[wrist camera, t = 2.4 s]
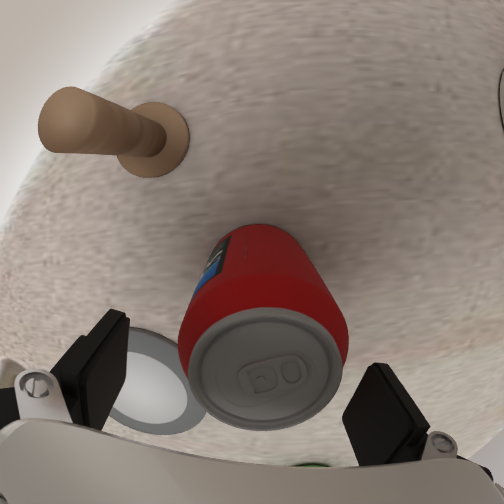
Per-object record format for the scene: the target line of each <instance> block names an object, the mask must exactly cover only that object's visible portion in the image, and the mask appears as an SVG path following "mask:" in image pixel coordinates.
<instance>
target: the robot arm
mask: <svg viewBox="0 0 504 504" xmlns="http://www.w3.org/2000/svg"><path fill="white" fill-rule="evenodd" d="M500 106H501V113H502V119H503V124H504V72H503V74H502V78H501V83H500ZM129 325H130V319H129V318H127V317H126V314H125V313H124V312H121V311H117V310H114V309H110V310H109V311H108V312H107V313H106V314H105V315H104V316H103V317H102V319H101V320H100V321H99V322H98V323H97V324H96V326H95V327H94V328H93V329H92V330H91V331H90V333H89V334H88V335H87V336H84V335H81V336H80V337H79V338H78V339H77V340H76V341H75V342H74V344H73V345H72V346H71V347H70V348H69V349H68V351H67V352H66V353H65V354H64V355H63V356H62V358H61V359H60V360H59V361H58V362H57V363H56V365H55V366H54V367H53V368H52V369H51V371H50V372H48V371H45V370H42V369H28V370H25V371H23V372H21V373H20V374H19V375H18V376H17V377H16V379H15V387H12V388H3V389H0V504H504V488H503V487H501V486H500V485H499V484H497V483H495V484H494V483H493V477H492V474H491V472H490V470H489V469H487V468H485V467H482V466H480V465H478V464H476V463H474V462H471V461H469V460H467V459H465V458H463V457H461V456H458V455H457V450H458V448H457V444H456V442H455V440H454V439H453V438H452V437H451V436H449V435H448V434H446V433H444V432H440V431H434V432H431V433H430V434H429V435H428V434H427V433H426V432H427V431H428V429H429V428H430V427H431V426H430V425H429V423H428V422H427V420H426V419H425V417H424V416H423V414H422V413H421V411H420V410H419V408H418V407H417V405H416V404H415V403H414V401H413V400H412V398H411V397H410V395H409V394H408V392H407V391H406V389H405V388H404V386H403V385H402V384H401V382H400V381H399V379H398V378H397V376H396V375H395V374H394V372H393V371H392V369H391V368H390V366H389V365H388V364H385V363H373V364H372V365H371V366H369V367H368V368H367V370H366V372H365V374H364V376H363V378H362V380H361V382H360V383H359V385H358V387H357V389H356V391H355V393H354V395H353V397H352V398H351V400H350V402H349V404H348V406H347V407H346V409H345V411H344V413H343V416H342V421H343V424H344V426H345V429H346V432H347V434H348V437H349V440H350V442H351V445H352V448H353V450H354V453H355V456H356V458H357V461H358V464H359V466H355V467H293V466H276V465H264V464H253V463H244V462H236V461H229V460H222V459H215V458H209V457H204V456H198V455H193V454H188V453H183V452H179V451H174V450H170V449H165V448H161V447H157V446H153V445H149V444H145V443H142V442H138V441H134V440H131V439H127V438H124V437H120V436H117V435H113V434H110V433H107V432H103V431H101V430H102V428H103V426H104V424H105V422H106V420H107V418H108V416H109V413H110V411H111V409H112V407H113V405H114V403H115V401H116V399H117V397H118V395H119V393H120V391H121V389H122V387H123V385H124V382H125V379H126V370H127V352H128V337H129ZM6 501H7V502H8V503H7V502H6Z"/></svg>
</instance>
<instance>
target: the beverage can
mask: <svg viewBox="0 0 504 504" xmlns="http://www.w3.org/2000/svg"><path fill="white" fill-rule="evenodd" d="M348 345H349V336H348V329H347V325H346V322H345V319H344V317H343V315H342V313H341V311H340V309H339V307H338V305H337V304H336V302H335V300H334V299H333V297H332V295H331V293H330V292H329V290H328V288H327V287H326V285H325V283H324V282H323V280H322V278H321V277H320V275H319V274H318V272H317V270H316V269H315V267H314V266H313V264H312V263H311V261H310V260H309V258H308V257H307V255H306V254H305V252H304V251H303V249H302V248H301V246H300V245H299V244H298V242H297V241H296V240H295V239H294V238H293V237H292V236H290V235H289V234H288V233H286V232H285V231H283V230H281V229H279V228H276V227H273V226H269V225H262V224H255V225H247V226H243V227H240V228H238V229H236V230H234V231H232V232H230V233H229V234H227V235H226V236H225V237H224V238H223V239H222V240H221V241H220V242H219V243H218V244H217V246H216V247H215V249H214V250H213V252H212V254H211V256H210V258H209V260H208V262H207V265H206V267H205V269H204V271H203V273H202V276H201V278H200V280H199V282H198V285H197V287H196V289H195V292H194V294H193V297H192V299H191V301H190V304H189V306H188V309H187V311H186V314H185V317H184V319H183V322H182V324H181V327H180V331H179V336H178V354H179V359H180V363H181V366H182V369H183V371H184V373H185V375H186V377H187V379H188V380H189V385H190V388H191V391H192V393H193V395H194V397H195V399H196V400H197V402H198V403H199V404H200V406H201V407H202V408H203V409H204V410H205V411H207V412H208V413H209V414H210V415H211V416H213V417H214V418H216V419H218V420H219V421H221V422H223V423H226V424H228V425H231V426H233V427H237V428H241V429H245V430H253V431H272V430H280V429H284V428H288V427H292V426H295V425H297V424H300V423H302V422H304V421H306V420H308V419H310V418H311V417H313V416H314V415H316V414H317V413H319V412H320V411H321V410H322V409H323V408H324V407H325V406H326V405H327V404H328V403H329V402H330V401H331V399H332V398H333V397H334V395H335V393H336V392H337V390H338V387H339V385H340V382H341V378H342V371H343V366H344V364H345V361H346V358H347V353H348Z"/></svg>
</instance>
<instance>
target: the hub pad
mask: <svg viewBox="0 0 504 504" xmlns="http://www.w3.org/2000/svg"><path fill="white" fill-rule="evenodd" d="M205 414H206V411H205V410H204V409H203V408H202V407H201V406H200V404H199V403H198V402H197V400H196V399H195V397H194V395H193V393H192V391H191V388H190V385H189V380H188V379H187V377H186V375H185V373H184V371H183V369H182V366H181V363H180V359H179V354H178V345H177V344H176V343H174V342H172V341H171V340H169V339H167V338H165V337H163V336H161V335H159V334H157V333H154V332H151V331H148V330H144V329H139V328H132V327H129V337H128V352H127V370H126V379H125V382H124V385H123V387H122V389H121V391H120V393H119V395H118V397H117V399H116V401H115V403H114V405H113V407H112V409H111V411H110V413H109V416H110V417H111V418H113V419H114V420H116V421H118V422H119V423H121V424H123V425H125V426H127V427H129V428H132V429H134V430H137V431H140V432H144V433H149V434H156V435H171V434H177V433H182V432H184V431H187V430H189V429H191V428H193V427H194V426H196V425H197V424H198V423H199V422H200V421H201V420H202V419H203V417H204V416H205Z"/></svg>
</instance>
